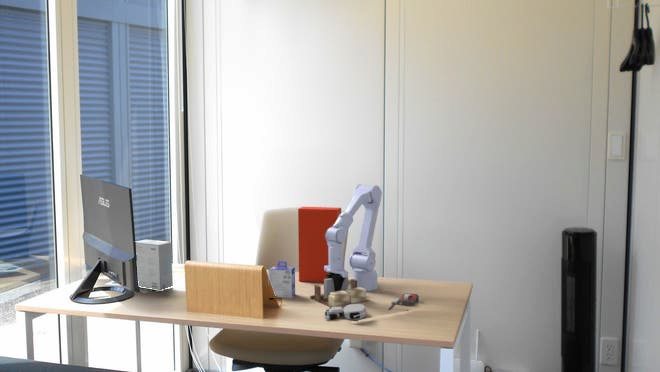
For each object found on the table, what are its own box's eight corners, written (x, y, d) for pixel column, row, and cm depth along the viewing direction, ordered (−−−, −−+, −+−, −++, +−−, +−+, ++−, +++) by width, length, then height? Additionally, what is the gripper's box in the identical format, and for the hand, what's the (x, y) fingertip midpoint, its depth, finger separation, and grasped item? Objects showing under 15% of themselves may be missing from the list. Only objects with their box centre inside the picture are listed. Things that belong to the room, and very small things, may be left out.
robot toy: (324, 326, 251) (367, 323, 251) (323, 314, 251) (366, 311, 250) (326, 316, 263) (366, 313, 263) (325, 304, 263) (365, 301, 262)
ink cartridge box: (296, 296, 287) (295, 261, 285) (292, 300, 281) (292, 264, 280) (272, 295, 289) (271, 260, 287) (268, 299, 283) (267, 263, 282)
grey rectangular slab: (345, 295, 284) (345, 275, 283) (348, 296, 282) (348, 276, 282) (324, 299, 279) (323, 279, 278) (326, 300, 277) (326, 280, 276)
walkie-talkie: (398, 299, 283) (386, 313, 264) (398, 288, 283) (386, 301, 264) (420, 300, 280) (409, 315, 262) (420, 290, 280) (409, 303, 261)
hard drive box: (173, 288, 301) (172, 242, 299) (160, 292, 295) (158, 245, 292) (147, 283, 309) (145, 238, 307) (134, 287, 303) (132, 241, 301)
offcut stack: (360, 298, 279) (360, 287, 279) (366, 300, 276) (365, 289, 276) (328, 304, 272) (328, 292, 271) (334, 306, 268) (334, 295, 268)
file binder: (304, 277, 319) (303, 206, 315) (341, 279, 314) (341, 207, 311) (298, 281, 311) (297, 208, 307) (337, 283, 307) (336, 210, 303)
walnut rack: (348, 294, 290) (348, 277, 289) (371, 303, 276) (371, 285, 275) (310, 300, 280) (309, 283, 279) (331, 310, 267) (331, 292, 266)
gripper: (317, 255, 283) (317, 289, 284) (337, 262, 271) (337, 297, 272) (332, 253, 287) (332, 286, 288) (352, 260, 274) (352, 294, 276)
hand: (336, 291), depth 280 cm, fingers closed on grey rectangular slab, 2 cm apart
